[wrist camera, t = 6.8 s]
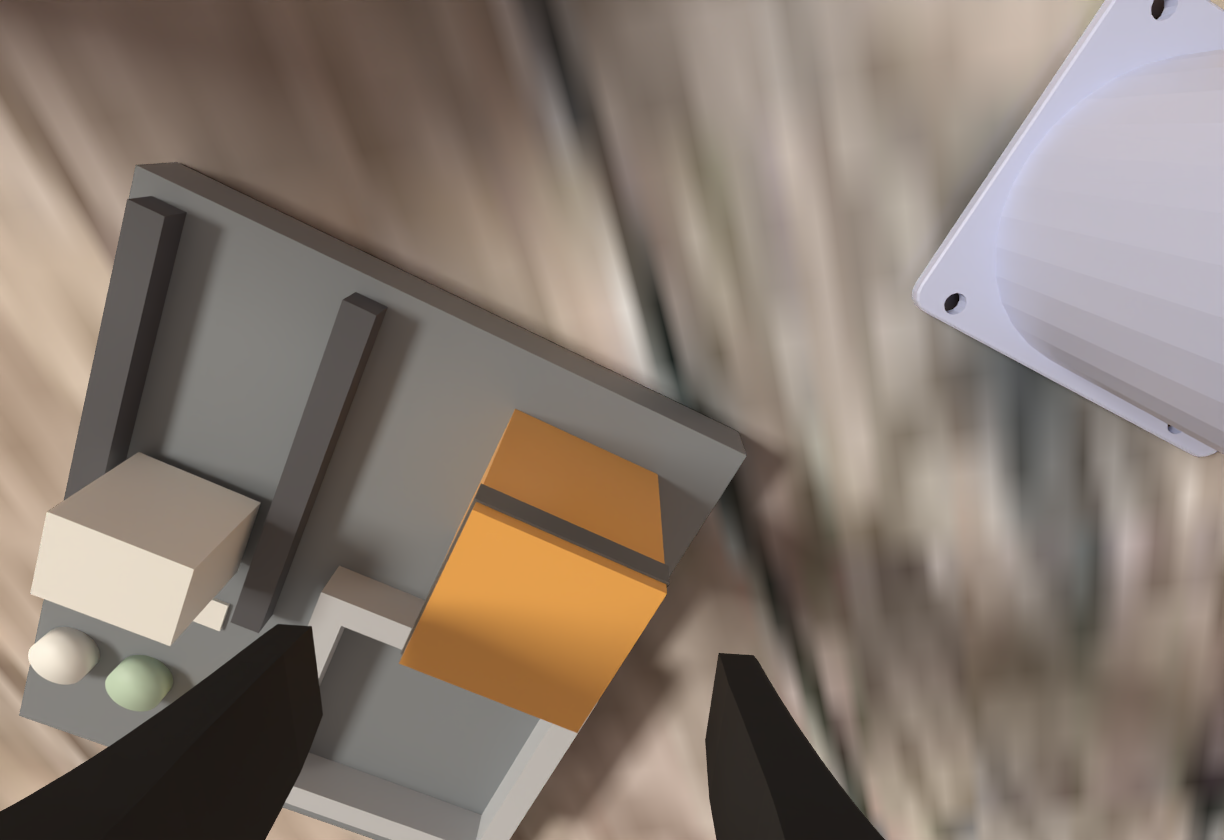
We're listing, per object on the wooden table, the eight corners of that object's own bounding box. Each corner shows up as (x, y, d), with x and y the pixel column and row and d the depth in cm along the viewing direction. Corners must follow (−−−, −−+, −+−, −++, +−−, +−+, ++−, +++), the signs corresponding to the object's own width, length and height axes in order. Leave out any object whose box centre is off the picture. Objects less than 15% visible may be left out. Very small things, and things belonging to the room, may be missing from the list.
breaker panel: (738, 431, 19) (754, 476, 16) (487, 835, 25) (471, 911, 23) (176, 162, 17) (96, 167, 14) (55, 680, 23) (-14, 747, 21)
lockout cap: (660, 473, 18) (670, 592, 13) (591, 591, 19) (578, 735, 15) (514, 405, 17) (470, 506, 13) (453, 533, 19) (395, 664, 14)
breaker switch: (261, 502, 18) (193, 569, 15) (237, 571, 19) (170, 646, 16) (138, 451, 18) (46, 511, 15) (120, 524, 18) (30, 593, 16)
